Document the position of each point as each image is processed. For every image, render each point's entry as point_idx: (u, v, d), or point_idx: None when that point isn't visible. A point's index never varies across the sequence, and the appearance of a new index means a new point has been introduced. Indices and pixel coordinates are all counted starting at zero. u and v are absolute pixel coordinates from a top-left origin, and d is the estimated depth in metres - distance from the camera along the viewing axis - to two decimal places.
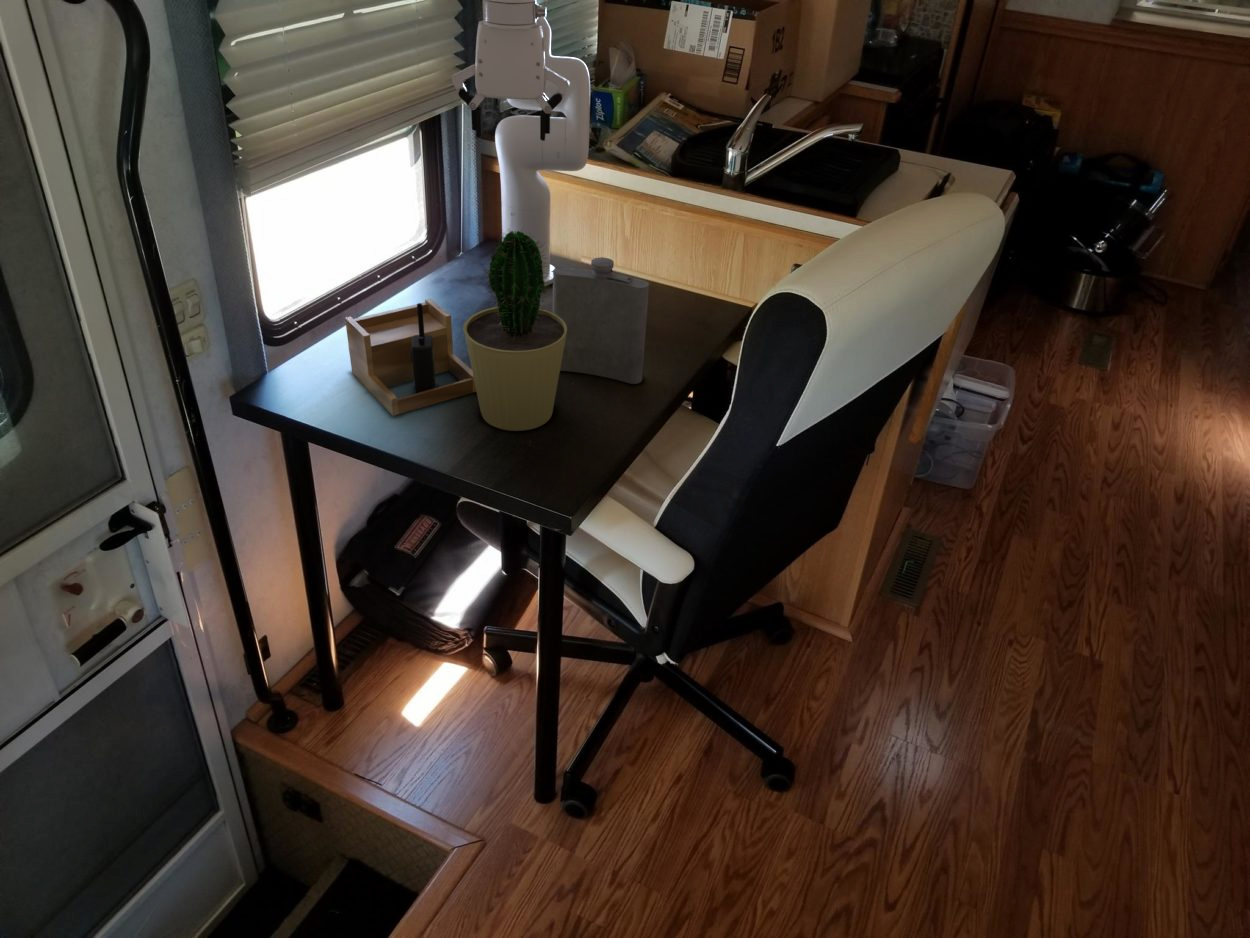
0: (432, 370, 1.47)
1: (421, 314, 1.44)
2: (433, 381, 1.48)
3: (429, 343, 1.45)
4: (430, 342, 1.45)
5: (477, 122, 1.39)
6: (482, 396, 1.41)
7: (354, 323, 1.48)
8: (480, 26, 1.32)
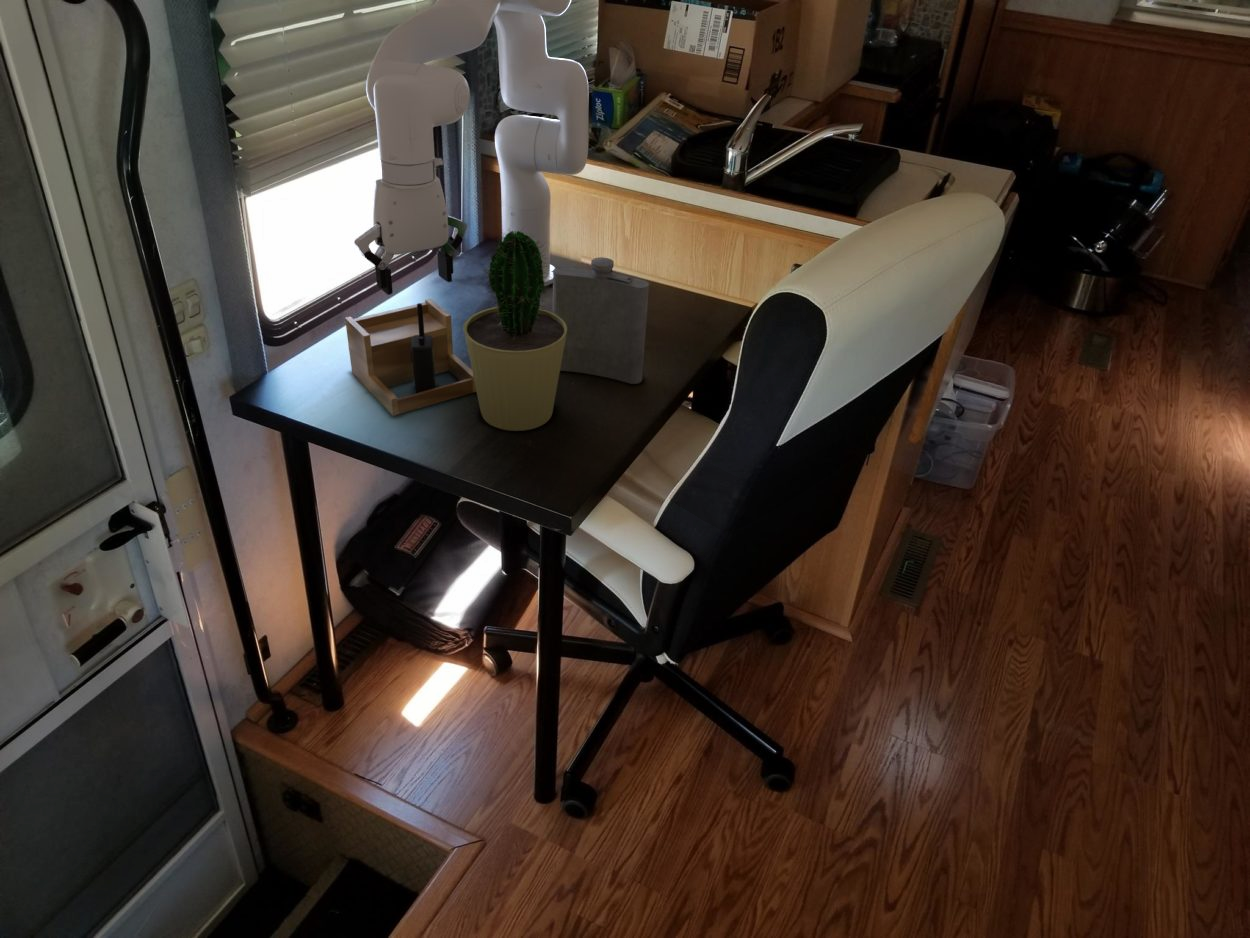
0: (432, 370, 1.47)
1: (421, 314, 1.44)
2: (433, 381, 1.48)
3: (429, 343, 1.45)
4: (430, 342, 1.45)
5: (389, 280, 1.35)
6: (482, 396, 1.41)
7: (354, 323, 1.48)
8: (386, 189, 1.28)
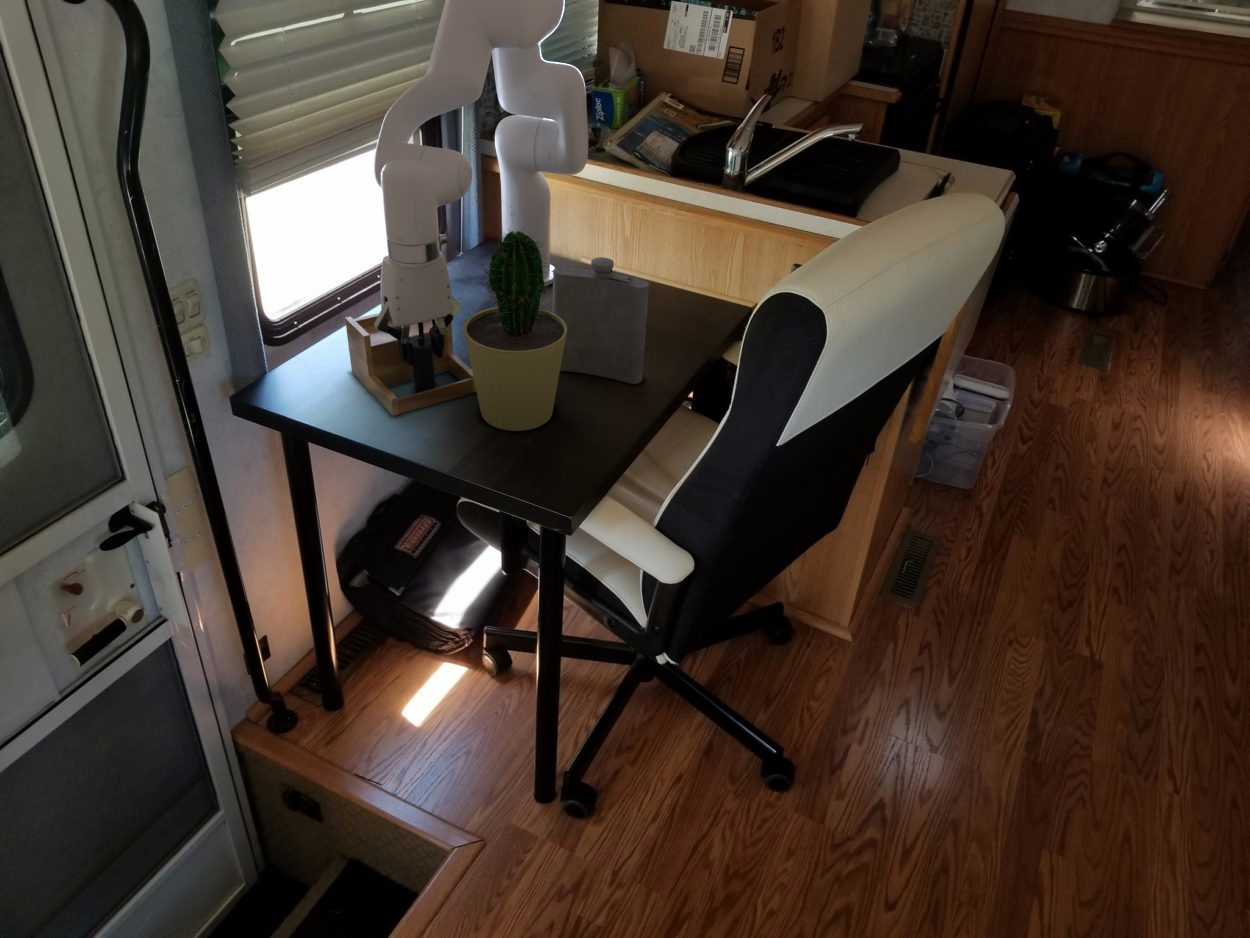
0: (432, 370, 1.47)
1: None
2: (433, 381, 1.48)
3: (428, 343, 1.45)
4: (430, 342, 1.45)
5: (410, 353, 1.44)
6: (482, 396, 1.41)
7: (354, 323, 1.48)
8: (393, 267, 1.35)
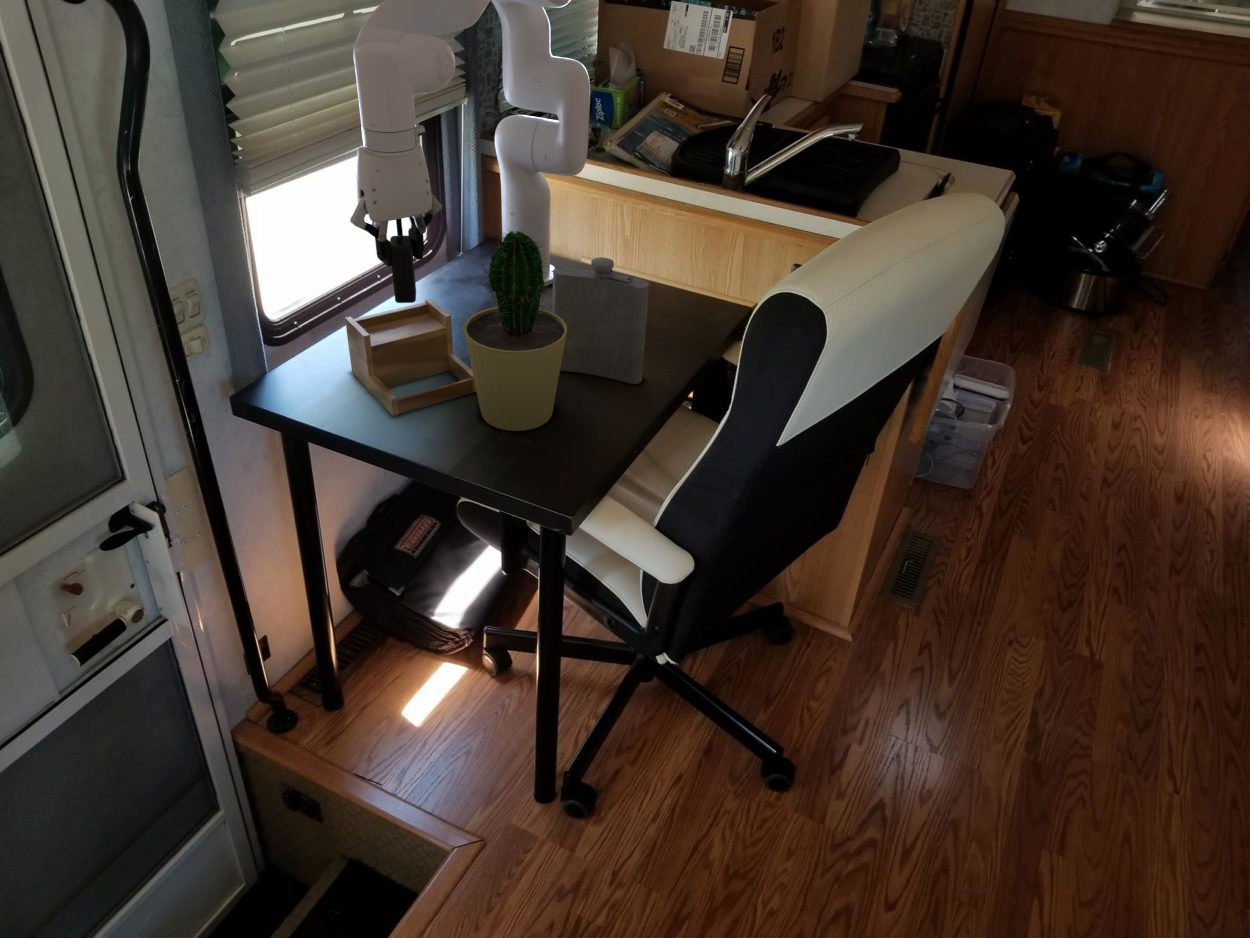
0: (411, 272, 1.42)
1: None
2: (413, 284, 1.43)
3: (407, 243, 1.40)
4: (409, 242, 1.40)
5: (388, 252, 1.39)
6: (482, 396, 1.41)
7: (354, 323, 1.48)
8: (369, 156, 1.30)
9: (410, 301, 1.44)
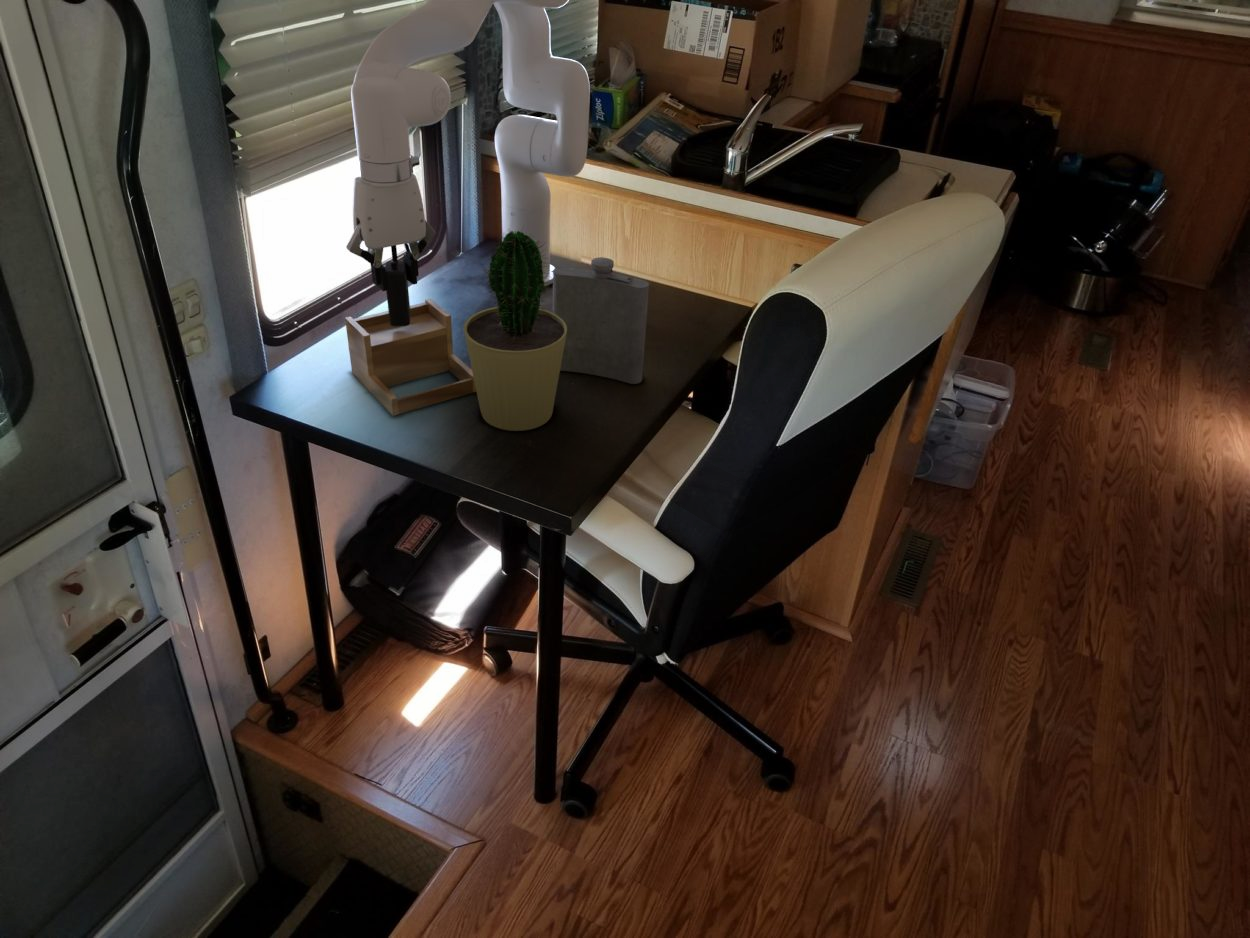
0: (406, 296, 1.46)
1: None
2: (407, 308, 1.47)
3: (402, 268, 1.45)
4: (403, 267, 1.45)
5: (383, 277, 1.43)
6: (482, 396, 1.41)
7: (354, 323, 1.48)
8: (365, 186, 1.34)
9: (404, 324, 1.49)
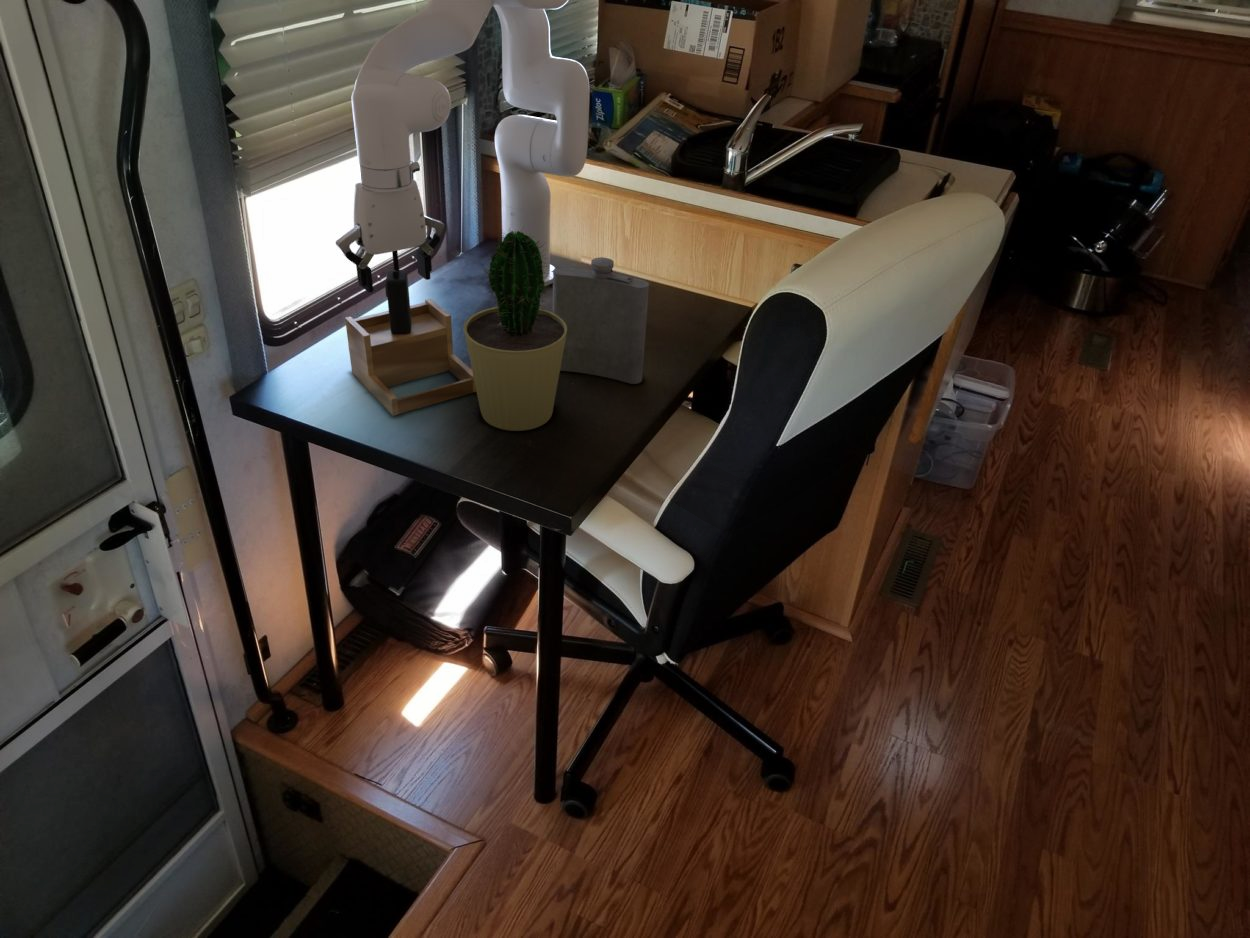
0: (407, 305, 1.47)
1: None
2: (408, 316, 1.48)
3: (403, 277, 1.45)
4: (404, 276, 1.46)
5: (369, 279, 1.42)
6: (482, 396, 1.41)
7: (354, 323, 1.48)
8: (365, 192, 1.35)
9: (405, 332, 1.49)
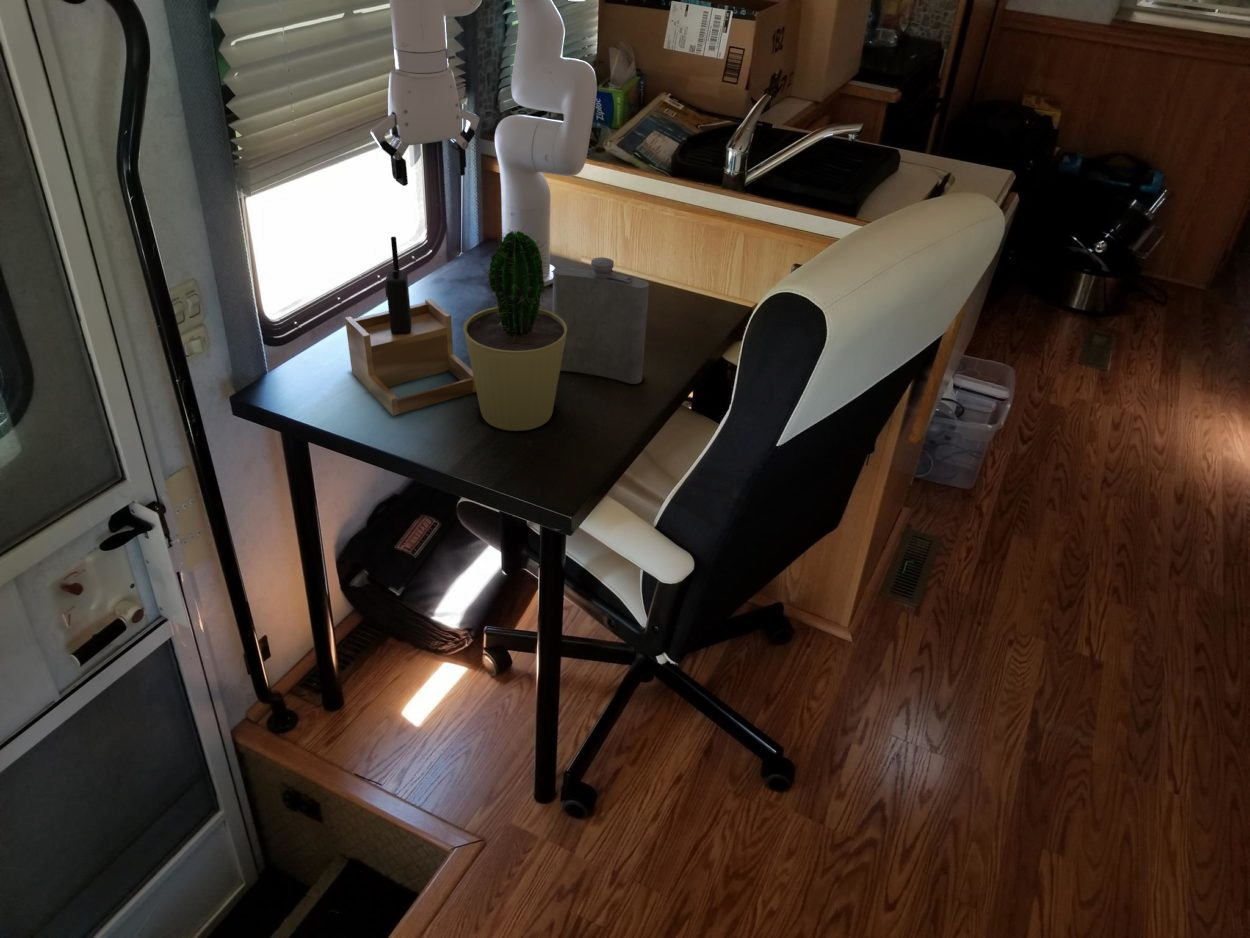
0: (407, 304, 1.47)
1: (395, 247, 1.44)
2: (408, 316, 1.48)
3: (403, 277, 1.45)
4: (404, 276, 1.46)
5: (404, 171, 1.40)
6: (482, 396, 1.41)
7: (354, 323, 1.48)
8: (401, 77, 1.32)
9: (405, 332, 1.49)
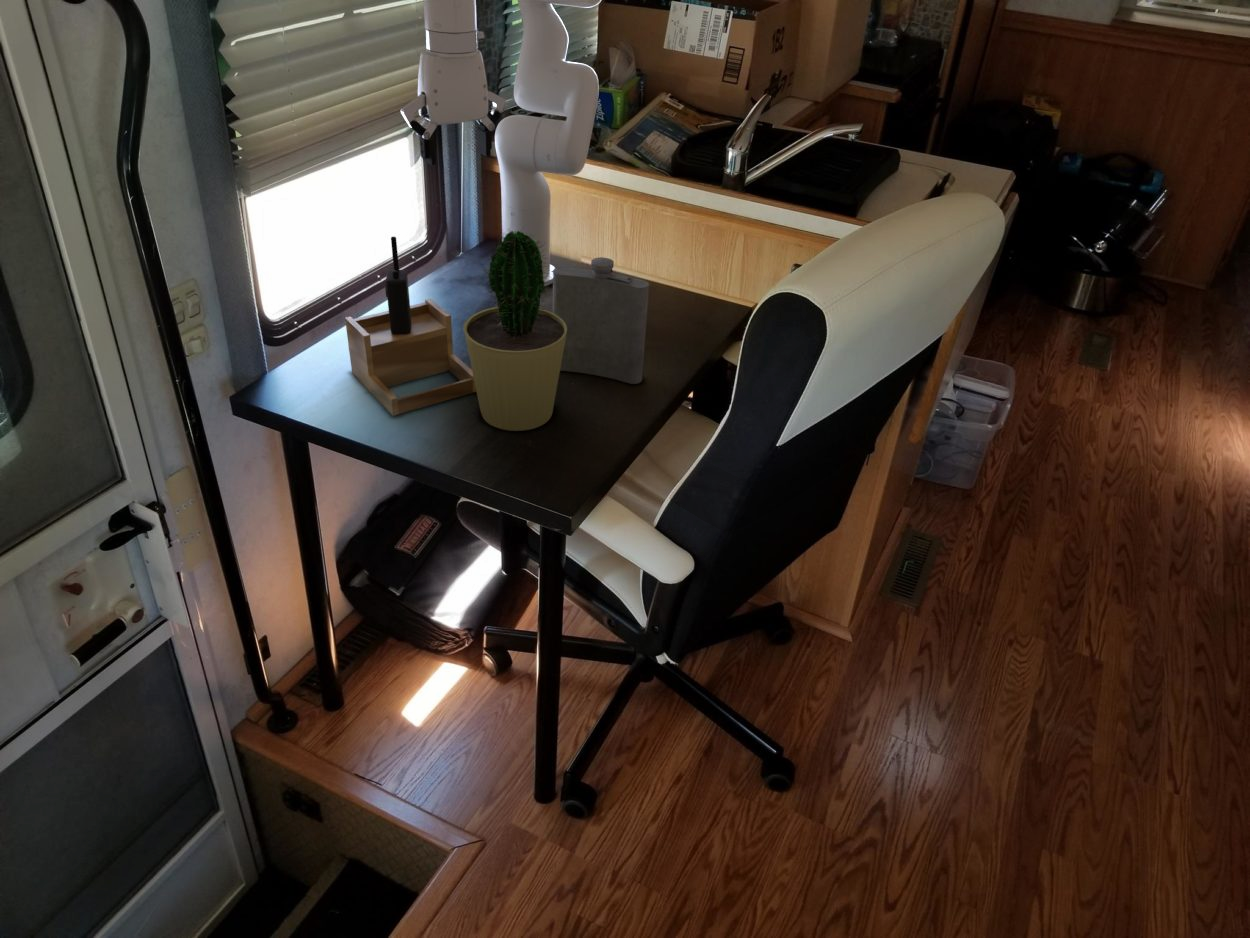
0: (407, 305, 1.47)
1: (395, 247, 1.44)
2: (408, 316, 1.48)
3: (403, 277, 1.45)
4: (404, 276, 1.46)
5: (432, 150, 1.43)
6: (482, 396, 1.41)
7: (354, 323, 1.48)
8: (432, 57, 1.35)
9: (405, 332, 1.49)
